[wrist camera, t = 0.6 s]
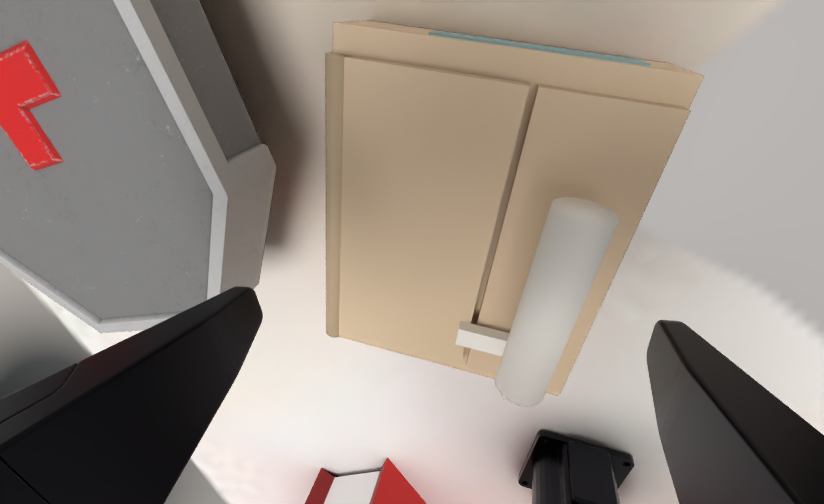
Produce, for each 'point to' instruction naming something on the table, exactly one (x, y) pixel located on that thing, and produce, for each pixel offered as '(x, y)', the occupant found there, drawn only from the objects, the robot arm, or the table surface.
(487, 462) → the table surface
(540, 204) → the carton
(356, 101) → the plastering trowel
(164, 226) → the first aid kit
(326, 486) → the book
